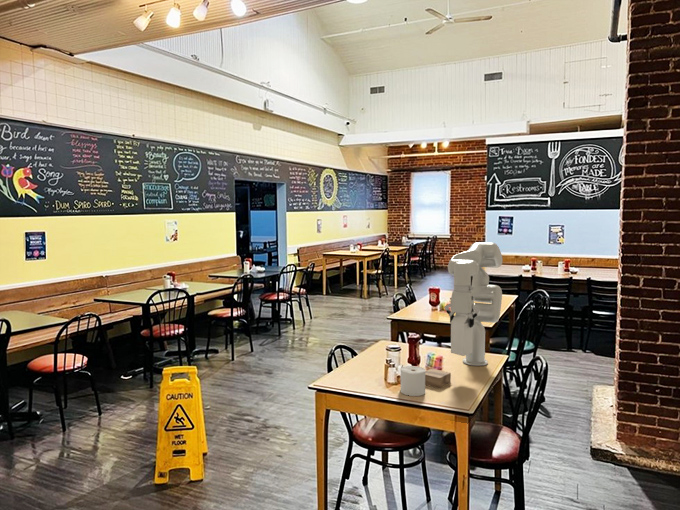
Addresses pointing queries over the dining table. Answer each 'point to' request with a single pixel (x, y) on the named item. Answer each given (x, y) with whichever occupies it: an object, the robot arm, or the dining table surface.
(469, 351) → the milk carton
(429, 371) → the walnut block
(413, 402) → the dining table surface
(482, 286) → the robot arm
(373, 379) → the dining table surface
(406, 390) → the toilet tissue
